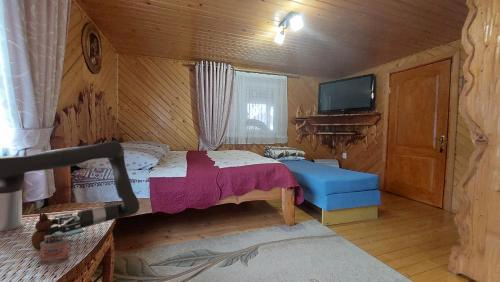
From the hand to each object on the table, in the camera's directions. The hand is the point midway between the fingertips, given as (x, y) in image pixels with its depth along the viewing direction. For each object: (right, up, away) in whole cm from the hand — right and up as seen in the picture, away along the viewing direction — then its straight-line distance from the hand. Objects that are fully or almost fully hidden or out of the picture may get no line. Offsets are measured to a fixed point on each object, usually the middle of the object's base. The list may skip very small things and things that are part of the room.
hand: (43, 227), depth 88 cm
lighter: (+11, -9, -8) cm, 16 cm away
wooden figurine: (0, -8, 0) cm, 8 cm away
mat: (-3, -7, +14) cm, 16 cm away
